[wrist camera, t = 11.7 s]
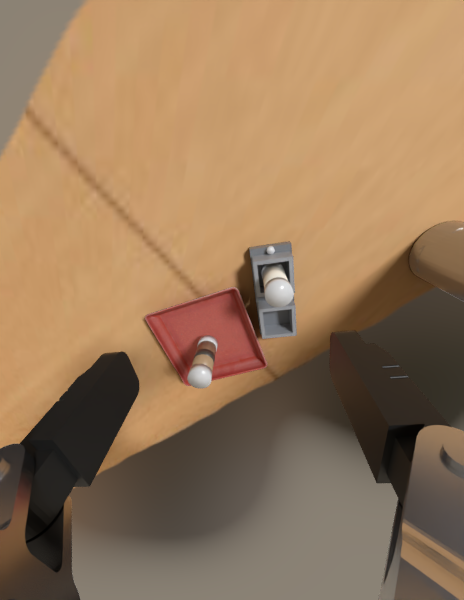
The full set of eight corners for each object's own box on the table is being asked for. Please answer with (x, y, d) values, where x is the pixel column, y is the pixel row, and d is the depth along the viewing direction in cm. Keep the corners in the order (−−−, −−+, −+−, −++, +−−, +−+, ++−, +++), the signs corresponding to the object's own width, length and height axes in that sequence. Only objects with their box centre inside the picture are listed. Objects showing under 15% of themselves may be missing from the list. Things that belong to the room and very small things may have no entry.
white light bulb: (282, 258, 36) (292, 279, 28) (284, 279, 38) (294, 305, 30) (259, 261, 37) (263, 283, 28) (262, 282, 38) (266, 308, 30)
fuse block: (289, 240, 36) (294, 247, 32) (293, 326, 43) (298, 341, 39) (249, 246, 37) (249, 254, 33) (259, 329, 44) (261, 344, 40)
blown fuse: (215, 334, 42) (208, 369, 34) (219, 349, 43) (213, 387, 35) (196, 336, 42) (184, 371, 34) (201, 351, 44) (190, 389, 36)
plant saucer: (149, 308, 44) (142, 316, 41) (237, 278, 40) (236, 286, 37) (189, 375, 51) (185, 387, 48) (267, 356, 47) (268, 367, 44)
